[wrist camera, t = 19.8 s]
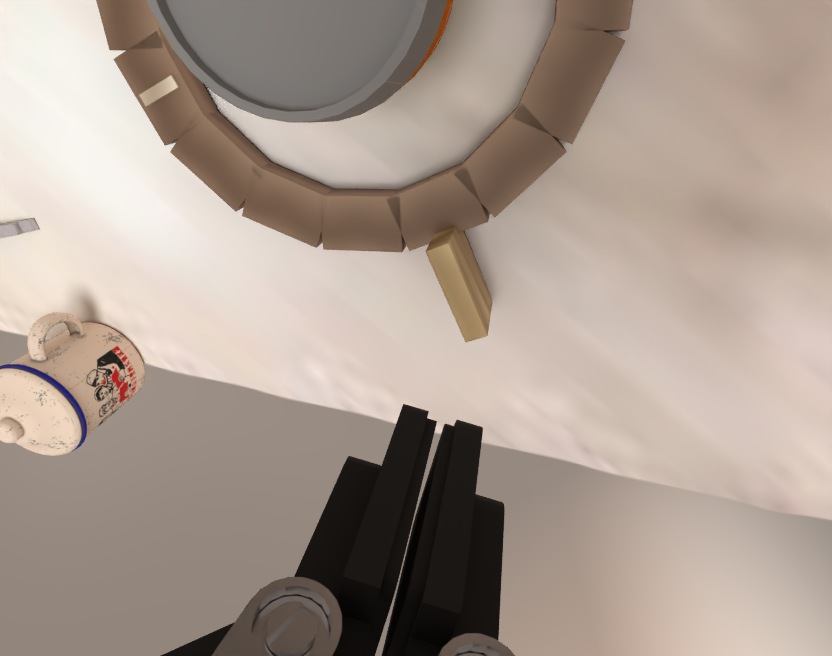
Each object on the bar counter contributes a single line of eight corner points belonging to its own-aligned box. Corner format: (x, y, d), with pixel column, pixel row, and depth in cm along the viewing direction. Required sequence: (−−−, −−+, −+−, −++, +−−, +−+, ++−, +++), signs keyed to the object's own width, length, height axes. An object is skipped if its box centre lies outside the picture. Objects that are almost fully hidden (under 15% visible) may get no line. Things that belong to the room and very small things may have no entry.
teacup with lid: (154, 406, 53) (66, 489, 43) (73, 386, 54) (-32, 464, 44) (139, 301, 47) (32, 369, 37) (48, 282, 48) (-80, 343, 38)
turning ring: (519, -675, 20) (516, -907, 16) (713, 230, 35) (744, 260, 30) (1, -167, 32) (-96, -208, 27) (308, 359, 46) (281, 396, 41)
